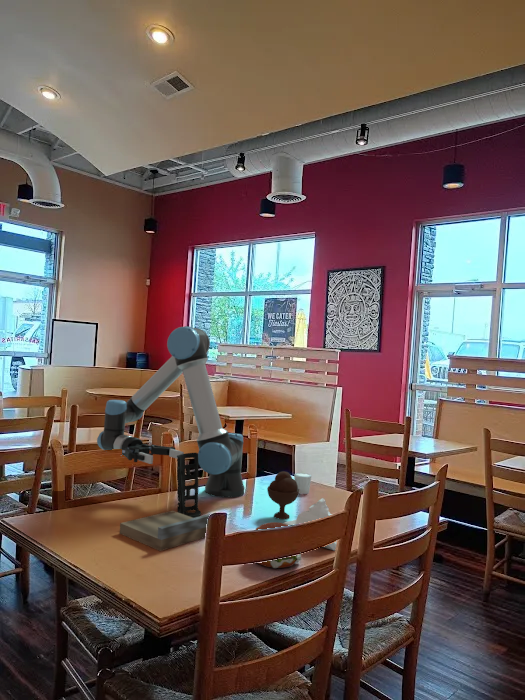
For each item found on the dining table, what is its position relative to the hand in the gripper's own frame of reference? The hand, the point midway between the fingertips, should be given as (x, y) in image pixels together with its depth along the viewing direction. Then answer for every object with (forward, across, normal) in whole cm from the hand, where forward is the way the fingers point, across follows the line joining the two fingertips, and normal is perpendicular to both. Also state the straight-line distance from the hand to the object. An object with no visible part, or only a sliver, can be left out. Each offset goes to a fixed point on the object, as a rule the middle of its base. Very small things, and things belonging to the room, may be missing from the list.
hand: (167, 457), depth 188 cm
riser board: (+21, +17, -17) cm, 32 cm away
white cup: (+17, -57, -16) cm, 62 cm away
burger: (+55, +9, -16) cm, 58 cm away
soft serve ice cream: (+54, -11, -16) cm, 57 cm away
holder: (+11, 0, -17) cm, 20 cm away
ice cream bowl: (+32, -24, -16) cm, 43 cm away
